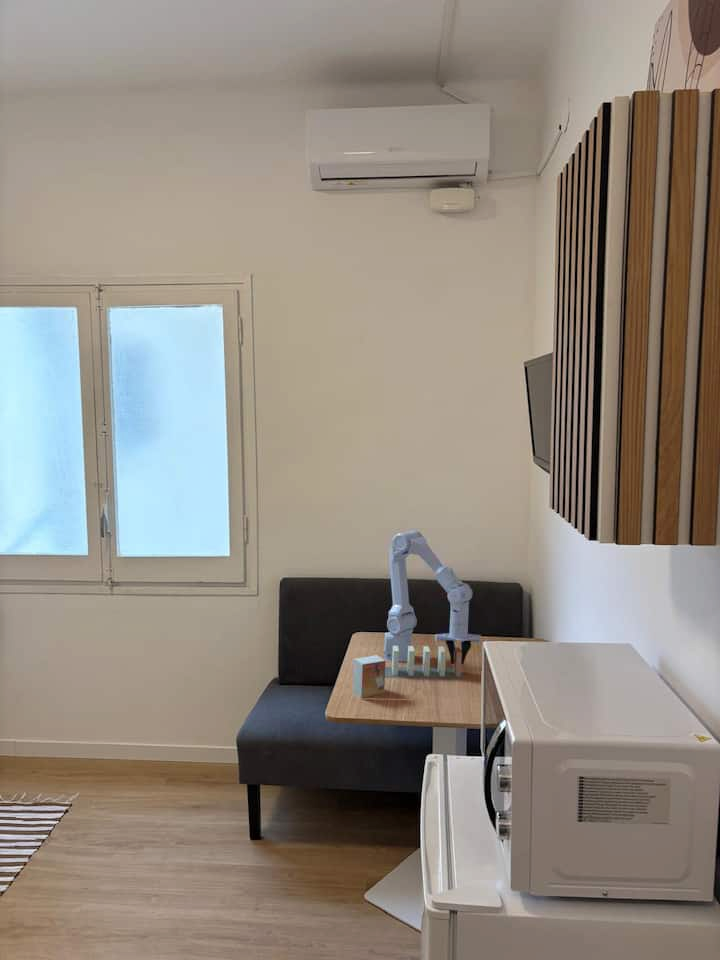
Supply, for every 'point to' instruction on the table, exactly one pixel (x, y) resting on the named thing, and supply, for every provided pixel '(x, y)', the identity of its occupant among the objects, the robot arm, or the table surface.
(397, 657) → the domino
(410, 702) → the table surface
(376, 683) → the small box
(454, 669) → the terracotta domino
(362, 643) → the table surface
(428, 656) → the domino
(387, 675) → the mat
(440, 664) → the domino
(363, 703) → the table surface
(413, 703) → the table surface
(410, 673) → the domino
